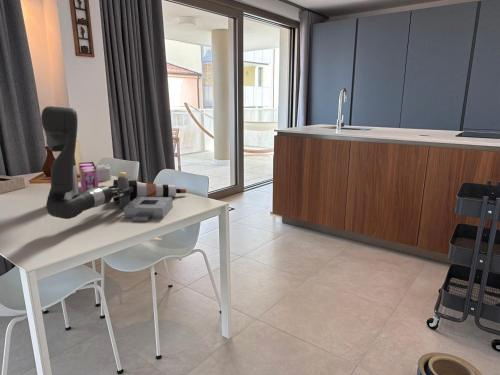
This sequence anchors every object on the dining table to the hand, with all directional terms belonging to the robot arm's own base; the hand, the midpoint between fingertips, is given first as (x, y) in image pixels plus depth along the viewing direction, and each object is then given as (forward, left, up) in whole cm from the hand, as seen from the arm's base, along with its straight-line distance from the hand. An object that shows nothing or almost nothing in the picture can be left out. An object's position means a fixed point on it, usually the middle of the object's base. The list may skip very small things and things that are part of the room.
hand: (124, 187), depth 157 cm
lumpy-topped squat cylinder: (-36, +55, -9) cm, 67 cm away
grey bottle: (0, -1, -9) cm, 9 cm away
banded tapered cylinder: (+7, +14, -9) cm, 18 cm away
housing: (+13, -7, -9) cm, 17 cm away
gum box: (-30, +28, -9) cm, 42 cm away
